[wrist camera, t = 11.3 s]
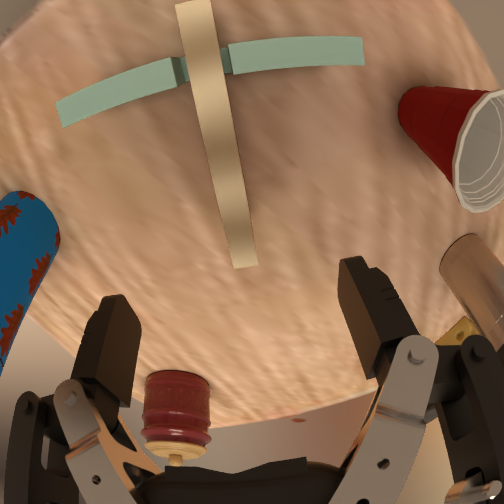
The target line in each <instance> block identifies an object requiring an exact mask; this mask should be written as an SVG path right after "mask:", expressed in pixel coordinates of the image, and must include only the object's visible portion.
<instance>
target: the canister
mask: <svg viewBox="0 0 504 504" xmlns="http://www.w3.org/2000/svg"><path fill="white" fill-rule="evenodd" d="M144 390H145V398H144V409H143V415H142V419H143V421H144V429H142V430H141V435H142V436H143V437H144V438H145V439H146V440H147V442H146V443H145V447H146V448H147V449H149V450H150V451H151V452H152V453H153V454H155V455H157V456H161V457H166V458H168V461H169V463H170V465H172V466H181V465H182V463H183V459H195V458H198V457H200V455H202V454H204V453H206V452H207V449H206V448H205V445H206V444H208V443H209V442H210V441H211V437H210V436H209V435H208V427H209V426H210V425H211V422H210V411H209V398H210V390H209V386H208V383H207V382H206V381H205V380H204V379H202V378H201V377H199V376H197V375H194V374H191V373H187V372H181V371H160V372H156V373H153V374H151V375H150V376H149V377H148V378H147V382H146V383H145V389H144Z"/></svg>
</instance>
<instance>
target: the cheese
mask: <svg viewBox="0 0 504 504" xmlns="http://www.w3.org/2000/svg"><path fill="white" fill-rule="evenodd" d="M475 334H477V335H479V333H478V332H477V330H476V328H475V327H474V325H473V323H472V322H470V321H469V319H467V318H466V317H465V316H464V317H463V318H462V319H461V320H460V321H459V322H458V323H457V324H456V325H455V326H454V327H453V328H452V329H451V330H449V331H448V332H447V333H446V334H445V335H444V336H442V337H441V338H440V339H439V340H437V341H436V342H435V344H436V345H461V344H462V342H463V341H464V340H465V338H467V337H468V336H470V335H475Z"/></svg>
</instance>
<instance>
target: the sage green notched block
mask: <svg viewBox="0 0 504 504" xmlns="http://www.w3.org/2000/svg"><path fill="white" fill-rule="evenodd" d="M220 54H221V59H222V64H223V70H224V74H226V73H231V72H232V73H233V74H234V75H236V74H242V73H248V72H255V71H263V70H271V69H280V68H291V67H304V66H325V65H365V61H364V50H363V41H362V37H349V36H303V37H285V38H273V39H263V40H254V41H247V42H240V43H233V44H228V47H227V48H222V49H220ZM188 81H190V77H189V73H188V68H187V63H186V58H185V57H181V58H177V57H169V58H166V59H162V60H159V61H155V62H152V63H149V64H146V65H143V66H140V67H137V68H134V69H131V70H128V71H125V72H123V73H120V74H117V75H115V76H112V77H110V78H107V79H105V80H102V81H100V82H97V83H95V84H93V85H90V86H88V87H86V88H84V89H82V90H79V91H77V92H75V93H73V94H71V95H69V96H67V97H65V98H63V99H61V100H59V101H57V102H55V104H56V107H57V111H58V114H59V117H60V120H61V123H62V126H63V128H65V127H67V126H69V125H71V124H73V123H76V122H78V121H80V120H82V119H85V118H87V117H89V116H92V115H94V114H97V113H99V112H102V111H104V110H107V109H110V108H112V107H115V106H118V105H120V104H123V103H126V102H129V101H132V100H135V99H138V98H141V97H144V96H147V95H151V94H154V93H157V92H161V91H164V90H168V89H172V88H175V87H178V86H180V85H181V84H183V83H185V82H188Z"/></svg>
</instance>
